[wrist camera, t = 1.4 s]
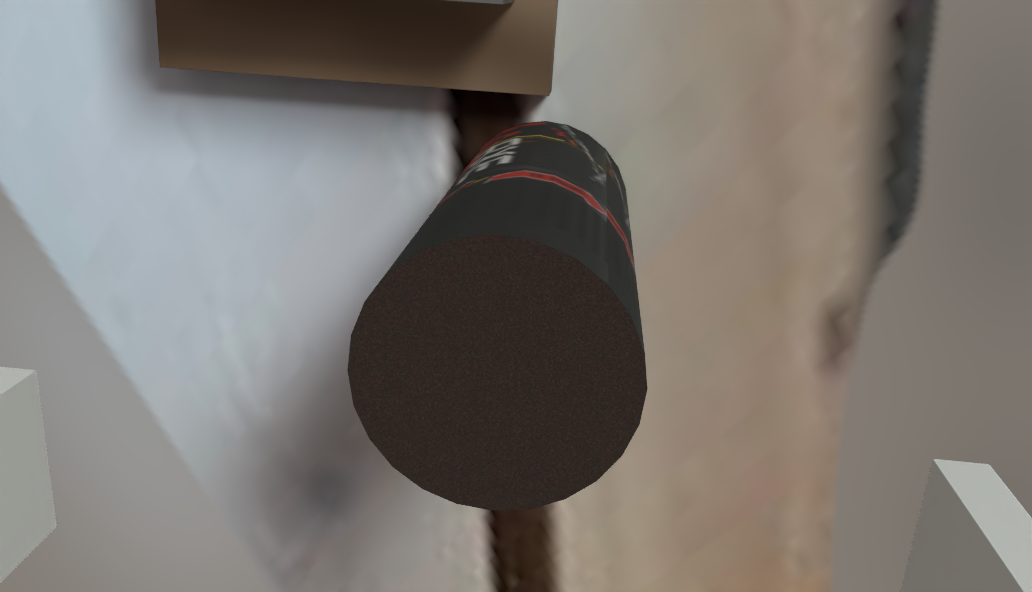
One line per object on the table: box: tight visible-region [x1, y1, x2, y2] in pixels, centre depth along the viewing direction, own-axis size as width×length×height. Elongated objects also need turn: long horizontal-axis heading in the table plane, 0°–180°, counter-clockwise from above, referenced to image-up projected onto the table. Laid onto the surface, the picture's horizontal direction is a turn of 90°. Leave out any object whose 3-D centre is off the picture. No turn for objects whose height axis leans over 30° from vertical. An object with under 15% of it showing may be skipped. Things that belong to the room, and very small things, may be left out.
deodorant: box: [348, 121, 647, 510], centre depth 25 cm, size 6×6×15 cm
